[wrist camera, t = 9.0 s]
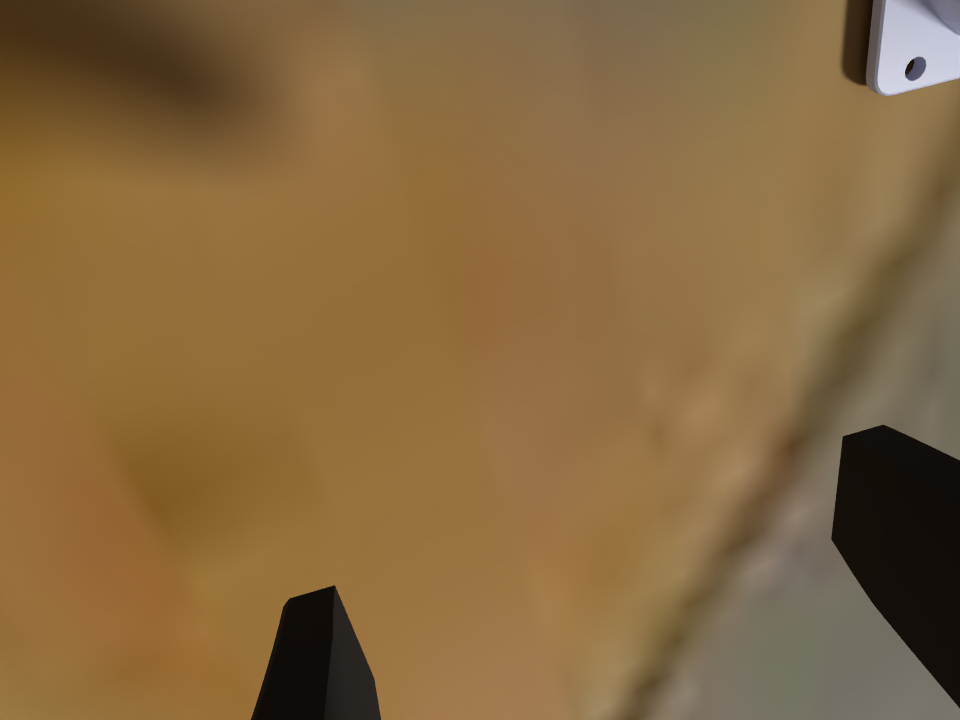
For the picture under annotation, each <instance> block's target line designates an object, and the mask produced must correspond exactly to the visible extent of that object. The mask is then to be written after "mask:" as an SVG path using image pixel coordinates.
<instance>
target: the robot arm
mask: <svg viewBox="0 0 960 720" xmlns="http://www.w3.org/2000/svg"><path fill="white" fill-rule="evenodd" d="M912 59H914V65H913V68H912V70H911V71H910V72H909V74H908V75H906V76H905V70H906V67H907V65H908V63H909V62H910V61H911V60H912ZM959 78H960V0H873V9H872V19H871V29H870V39H869V49H868V59H867V69H866V84H867V86H868V87H869V89H870V90H871V91H873V92H875V93H878V94H881V95H883V96H891V95H895V94H899V93H903V92H907V91H911V90H915V89H919V88H923V87H927V86H931V85H935V84H939V83H943V82H947V81H951V80H955V79H959ZM831 539H832V541H833V543H834V544H835V546H836V547H837V549H838V551H839V552H840V554H841V555H842V557H843V559H844V560H845V562H846V563H847V565H848V567H849V568H850V570H851V571H852V573H853V575H854V576H855V578H856V579H857V581H858V582H859V584H860V585H861V587H862V588H863V590H864V591H865V592H866V594H867V595H868V597H869V598H870V600H871V601H872V603H873V604H874V605H875V607H876V608H877V609H878V610H879V612H880V613H881V614H882V615H883V617H884V618H885V619H886V620H887V622H888V623H889V624H890V625H891V626H892V628H893V629H894V630H895V631H896V632H897V634H898V635H899V636H900V637H901V639H902V640H903V641H904V642H905V643H906V645H907V646H908V647H909V648H910V649H911V651H912V652H913V653H914V654H915V655H916V657H917V658H918V659H919V660H920V661H921V663H922V664H923V665H924V666H925V667H926V669H927V670H928V671H929V672H930V673H931V674H932V676H933V677H934V678H935V679H936V680H937V682H938V683H939V684H940V685H941V686H942V688H943V689H944V690H945V691H946V692H947V694H948V695H949V696H950V697H951V698H952V700H953V701H954V702H955V703H956V704H957V705H958V707H959V708H960V460H957V459H955V458H953V457H951V456H949V455H947V454H945V453H943V452H941V451H939V450H937V449H935V448H933V447H931V446H929V445H927V444H924V443H922V442H920V441H918V440H916V439H914V438H912V437H910V436H907V435H905V434H903V433H901V432H899V431H897V430H894V429H892V428H890V427H888V426H885V425H880V426H877V427H874V428H870V429H867V430H863V431H860V432H857V433H853V434H850V435H846V436H843V440H842V449H841V458H840V467H839V476H838V485H837V493H836V502H835V511H834V520H833V529H832V538H831ZM251 720H381V716H380V710H379V704H378V699H377V693H376V687H375V681H374V677H373V675H372V672H371V670H370V667H369V665H368V663H367V660H366V658H365V656H364V653H363V651H362V649H361V646H360V644H359V641H358V639H357V637H356V634H355V632H354V630H353V627H352V625H351V623H350V620H349V618H348V615H347V613H346V611H345V608H344V606H343V604H342V601H341V599H340V596H339V594H338V592H337V589H336V587H335V585H334V586H331V587H327V588H324V589H320V590H317V591H314V592H310V593H307V594H303V595H300V596H297V597H293V598H290V599H289V600H288V601H287V602H286V604H285V605H284V607H283V610H282V615H281V619H280V623H279V627H278V631H277V635H276V638H275V642H274V646H273V649H272V653H271V657H270V660H269V664H268V667H267V670H266V674H265V677H264V680H263V684H262V687H261V690H260V693H259V697H258V700H257V703H256V706H255V709H254V712H253V715H252V718H251Z"/></svg>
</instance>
